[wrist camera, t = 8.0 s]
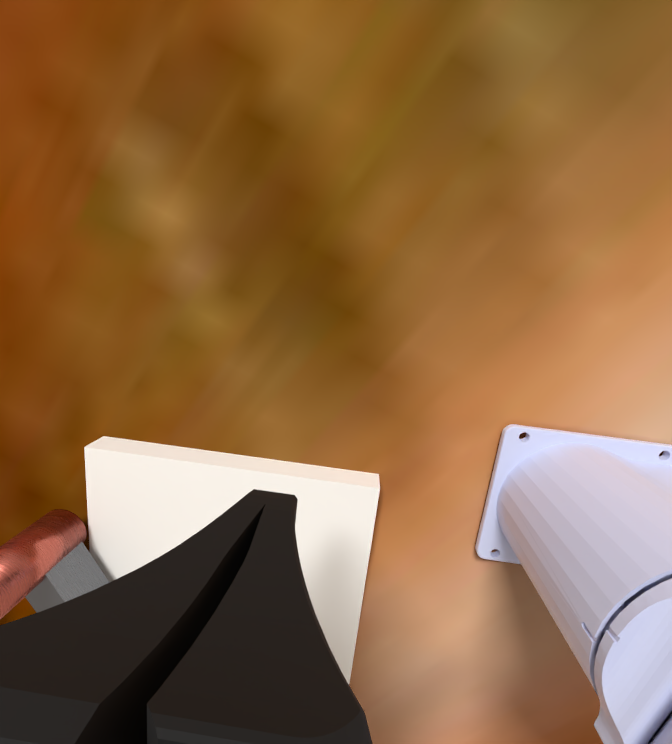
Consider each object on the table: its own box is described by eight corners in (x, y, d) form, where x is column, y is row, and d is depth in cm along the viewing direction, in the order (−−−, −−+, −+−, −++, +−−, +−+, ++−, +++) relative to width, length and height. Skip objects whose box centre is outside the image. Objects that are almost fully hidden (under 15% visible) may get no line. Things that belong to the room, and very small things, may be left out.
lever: (250, 762, 23) (221, 887, 19) (203, 775, 24) (163, 899, 19) (76, 499, 20) (-16, 567, 15) (26, 521, 20) (-79, 593, 16)
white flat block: (378, 474, 20) (383, 524, 16) (334, 758, 25) (329, 856, 21) (103, 436, 21) (35, 474, 17) (113, 720, 26) (63, 807, 22)
